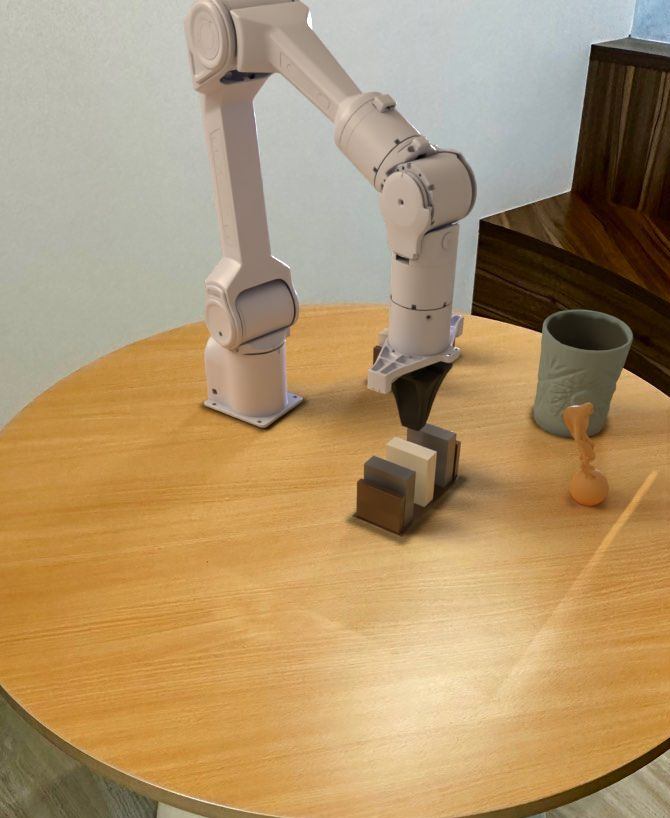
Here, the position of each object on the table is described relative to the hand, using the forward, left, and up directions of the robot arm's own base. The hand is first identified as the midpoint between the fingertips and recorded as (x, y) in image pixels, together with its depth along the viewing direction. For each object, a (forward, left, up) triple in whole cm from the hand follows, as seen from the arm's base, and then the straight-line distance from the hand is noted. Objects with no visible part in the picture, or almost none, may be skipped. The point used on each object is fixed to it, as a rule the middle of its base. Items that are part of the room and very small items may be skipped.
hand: (413, 425), depth 88 cm
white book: (0, 0, -9) cm, 9 cm away
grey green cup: (+8, +25, -10) cm, 28 cm away
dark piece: (-14, +25, -9) cm, 30 cm away
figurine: (+15, +10, -10) cm, 20 cm away
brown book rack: (0, 0, -9) cm, 9 cm away
